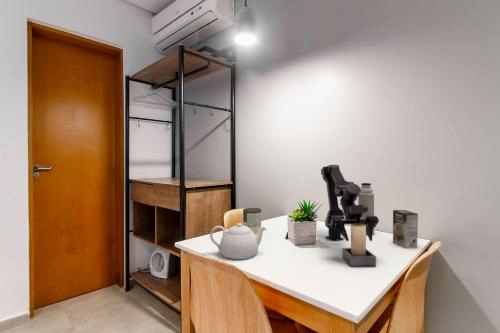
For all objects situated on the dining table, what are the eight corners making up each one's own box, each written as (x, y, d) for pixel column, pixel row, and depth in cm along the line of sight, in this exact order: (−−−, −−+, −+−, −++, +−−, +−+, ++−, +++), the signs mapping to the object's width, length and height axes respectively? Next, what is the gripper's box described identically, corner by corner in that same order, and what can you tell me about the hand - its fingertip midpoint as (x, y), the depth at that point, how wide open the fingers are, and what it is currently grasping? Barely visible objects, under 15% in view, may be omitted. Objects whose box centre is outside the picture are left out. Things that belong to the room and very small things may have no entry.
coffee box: (392, 242, 130) (392, 209, 130) (404, 241, 131) (404, 209, 131) (405, 248, 121) (405, 213, 121) (418, 247, 122) (418, 213, 122)
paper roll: (348, 259, 106) (348, 225, 106) (354, 256, 110) (354, 222, 110) (362, 263, 102) (362, 227, 102) (368, 260, 106) (368, 225, 106)
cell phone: (284, 239, 138) (284, 238, 138) (287, 232, 151) (287, 231, 151) (299, 240, 136) (299, 239, 136) (300, 233, 150) (300, 232, 150)
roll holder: (342, 257, 111) (342, 248, 111) (365, 257, 111) (365, 248, 111) (350, 267, 101) (350, 256, 101) (375, 266, 101) (375, 256, 101)
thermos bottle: (358, 231, 151) (357, 182, 151) (373, 232, 149) (373, 182, 148) (358, 234, 144) (358, 183, 143) (375, 236, 141) (374, 183, 140)
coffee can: (239, 235, 146) (239, 210, 146) (250, 231, 154) (249, 207, 154) (254, 238, 140) (254, 212, 140) (265, 233, 148) (264, 208, 148)
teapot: (240, 244, 131) (239, 217, 131) (267, 253, 118) (267, 222, 118) (209, 254, 118) (208, 223, 118) (236, 265, 105) (236, 231, 105)
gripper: (331, 197, 109) (340, 230, 99) (376, 196, 109) (390, 230, 99) (326, 212, 118) (334, 244, 107) (368, 211, 117) (380, 244, 107)
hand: (359, 240), depth 105 cm, fingers open, 9 cm apart
